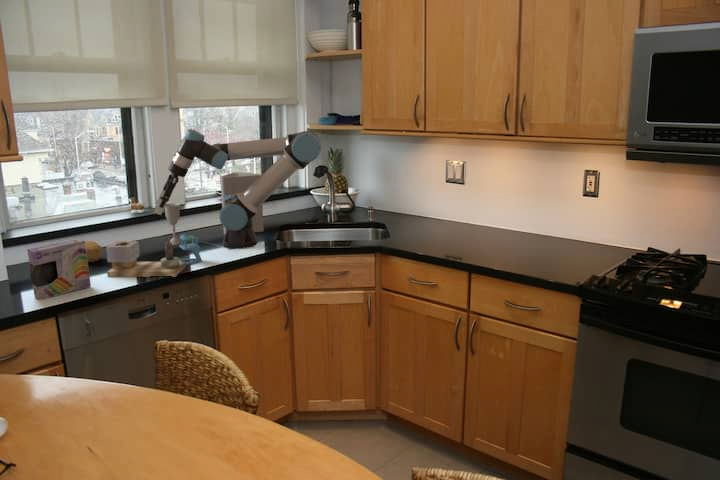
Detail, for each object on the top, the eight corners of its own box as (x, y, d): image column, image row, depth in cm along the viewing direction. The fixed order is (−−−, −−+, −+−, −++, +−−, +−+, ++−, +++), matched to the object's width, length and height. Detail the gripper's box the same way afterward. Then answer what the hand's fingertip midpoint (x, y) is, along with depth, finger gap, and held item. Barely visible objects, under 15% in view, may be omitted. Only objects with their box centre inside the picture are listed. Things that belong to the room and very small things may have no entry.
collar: (139, 256, 247) (138, 241, 246) (131, 262, 238) (129, 247, 237) (117, 256, 248) (115, 241, 246) (107, 262, 239) (106, 247, 237)
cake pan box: (36, 301, 211) (29, 250, 207) (30, 298, 214) (23, 248, 210) (92, 287, 225) (86, 240, 220) (85, 285, 228) (80, 237, 224)
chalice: (170, 246, 283) (167, 206, 279) (164, 243, 288) (160, 204, 284) (185, 243, 288) (182, 204, 283) (179, 240, 293) (176, 202, 288)
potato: (78, 267, 250) (75, 248, 248) (78, 259, 263) (76, 240, 261) (104, 264, 254) (102, 245, 252) (103, 256, 267) (101, 238, 265)
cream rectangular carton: (256, 225, 323) (254, 171, 317) (264, 231, 310) (261, 175, 303) (219, 229, 316) (216, 173, 309) (225, 235, 303) (221, 177, 296)
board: (186, 266, 250) (184, 237, 247) (175, 276, 237) (172, 246, 234) (122, 266, 251) (119, 237, 248) (107, 276, 238) (104, 246, 235)
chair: (203, 263, 255) (201, 234, 252) (183, 266, 251) (181, 237, 248) (197, 258, 261) (195, 230, 259) (178, 261, 257) (175, 233, 254)
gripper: (172, 154, 270) (151, 197, 274) (171, 167, 247) (147, 213, 251) (188, 162, 273) (167, 204, 277) (188, 175, 250) (165, 221, 254)
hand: (158, 209), depth 264 cm, fingers open, 13 cm apart
